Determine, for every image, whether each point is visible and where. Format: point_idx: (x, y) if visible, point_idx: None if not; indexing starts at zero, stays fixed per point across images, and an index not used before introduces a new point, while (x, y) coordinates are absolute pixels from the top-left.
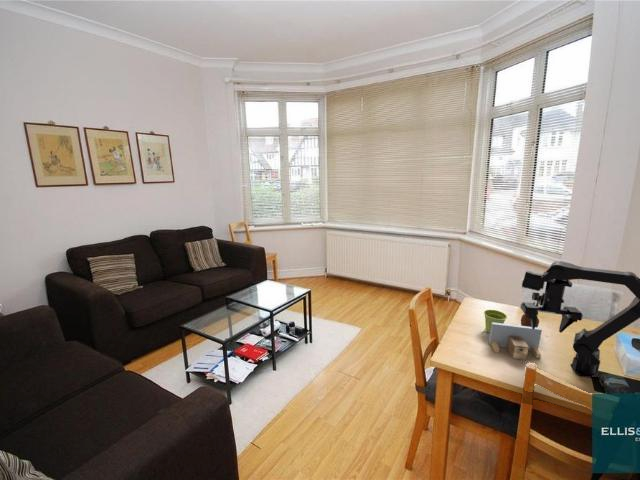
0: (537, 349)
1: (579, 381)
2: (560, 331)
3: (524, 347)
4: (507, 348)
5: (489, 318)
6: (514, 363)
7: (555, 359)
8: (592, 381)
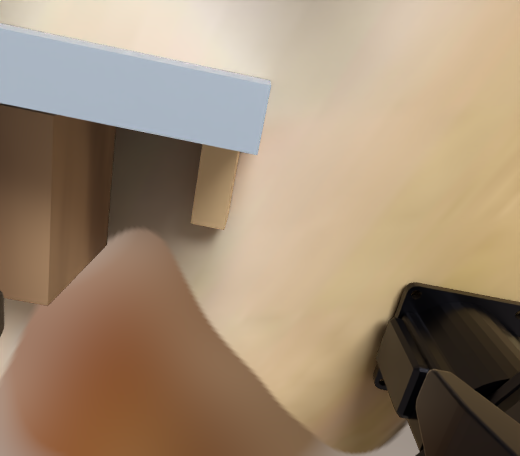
0: (230, 161)
1: (334, 420)
2: (421, 425)
3: (13, 294)
4: None
5: None
6: None
7: (342, 222)
8: None
